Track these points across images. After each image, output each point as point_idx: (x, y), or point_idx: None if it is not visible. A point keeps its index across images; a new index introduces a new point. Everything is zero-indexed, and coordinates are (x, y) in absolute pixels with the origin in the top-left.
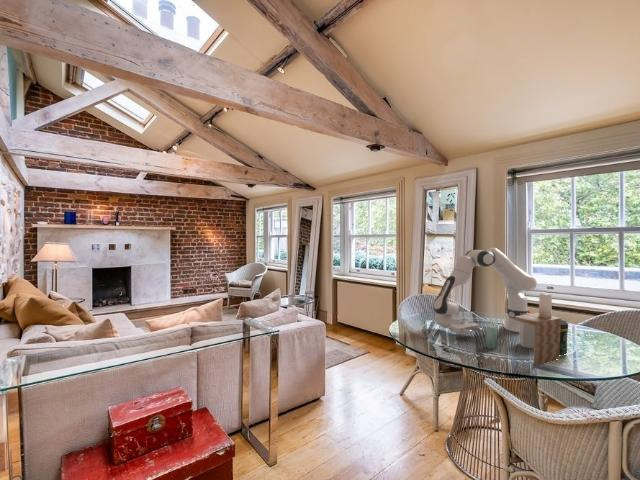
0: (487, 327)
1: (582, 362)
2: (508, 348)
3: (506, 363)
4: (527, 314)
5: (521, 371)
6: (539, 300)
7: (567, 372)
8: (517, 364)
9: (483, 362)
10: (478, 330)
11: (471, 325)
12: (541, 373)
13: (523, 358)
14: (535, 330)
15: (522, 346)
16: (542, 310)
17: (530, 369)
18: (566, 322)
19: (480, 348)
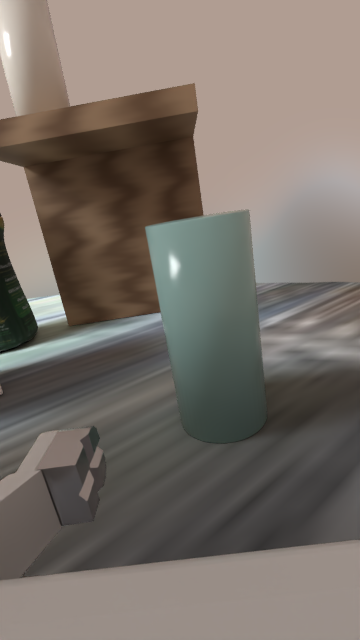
0: (248, 213)
1: (43, 314)
2: (108, 393)
3: (319, 305)
4: (69, 108)
5: (310, 285)
6: (34, 20)
7: None
8: (275, 303)
9: None
10: (93, 492)
11: (84, 602)
12: None
13: None
14: (195, 159)
15: (1, 391)
16: (65, 89)
17: (262, 291)
18: None
19: (343, 417)
